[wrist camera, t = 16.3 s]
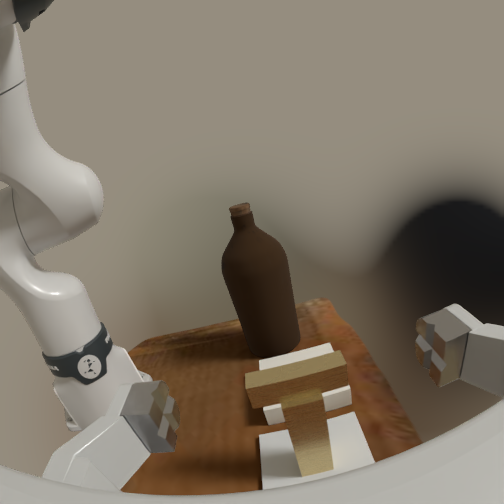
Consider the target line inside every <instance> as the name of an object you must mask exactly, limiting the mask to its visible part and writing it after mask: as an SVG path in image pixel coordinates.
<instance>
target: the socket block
mask: <svg viewBox="0 0 504 504" xmlns="http://www.w3.org/2000/svg"><path fill="white" fill-rule="evenodd" d="M331 352H334V351H333V349H332V347H331V345H330V343H327V344H323V345H319V346H316V347H312V348H308V349H304V350H301V351H297V352H293V353H289V354H285V355H280V356H276V357H272V358H268V359H263V360H259V366H260V370H264V369H269V368H273V367H277V366H282V365H286V364H290V363H294V362H298V361H302V360H306V359H310V358H313V357H317V356H321V355H324V354H328V353H331ZM322 396H323V399H324V405H325V412H327V411H331V410H334V409H337V408H341V407H344V406H347V405H351V404H352V401H351V389H350V386H349V385H348V386H345V387H342V388H338V389H335V390H332V391H328V392H324V393H322ZM263 411H264V414H265V417H266V419H267V422H268V425H272V424H277V423H282V422H285V419H284V415H283V412H282V408H281V403H280V404H275V405H271V406H266V407H263Z"/></svg>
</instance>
